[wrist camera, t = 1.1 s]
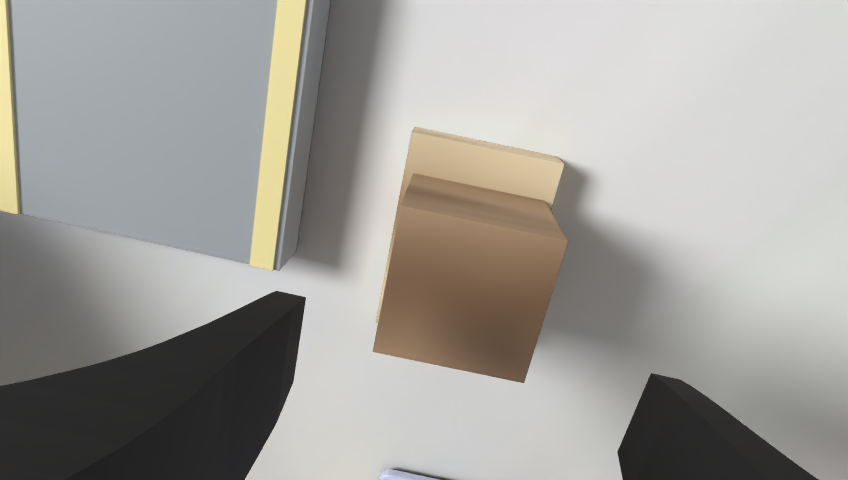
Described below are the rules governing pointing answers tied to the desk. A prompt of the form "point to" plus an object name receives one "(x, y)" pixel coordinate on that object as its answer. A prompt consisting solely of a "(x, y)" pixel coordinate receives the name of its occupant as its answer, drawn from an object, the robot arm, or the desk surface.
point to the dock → (163, 119)
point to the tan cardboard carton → (471, 255)
